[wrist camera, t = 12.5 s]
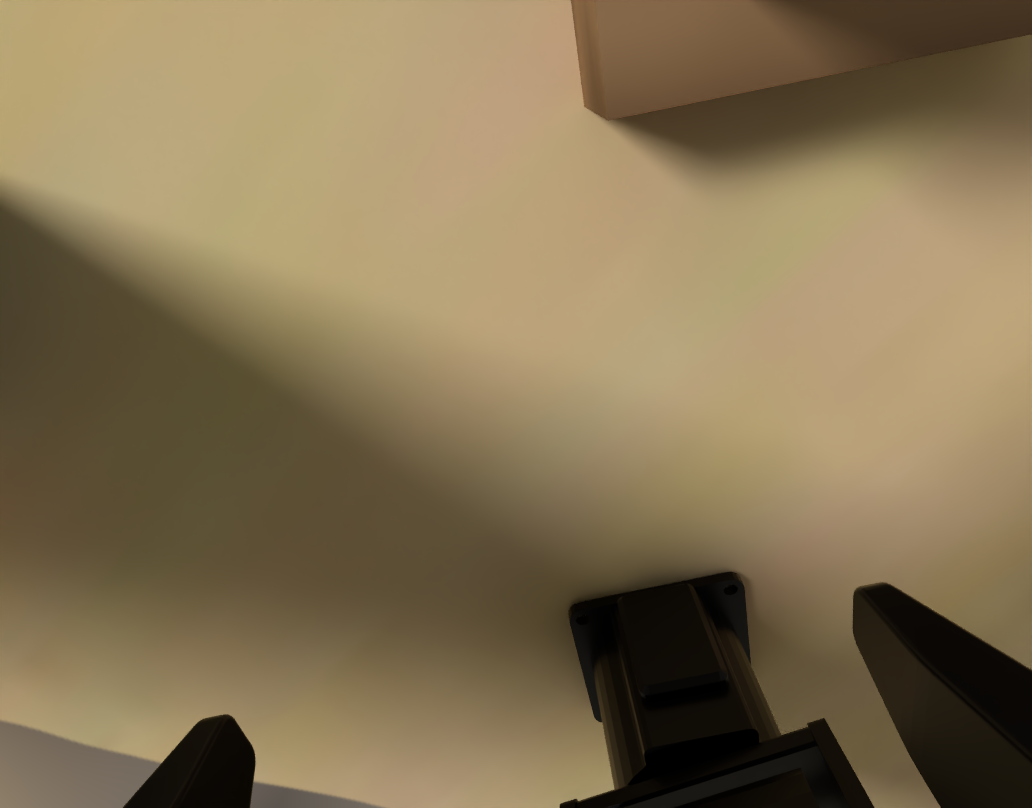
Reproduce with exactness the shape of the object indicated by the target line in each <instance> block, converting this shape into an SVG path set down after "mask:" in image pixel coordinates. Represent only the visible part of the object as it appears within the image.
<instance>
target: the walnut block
mask: <svg viewBox="0 0 1032 808" xmlns="http://www.w3.org/2000/svg"><path fill="white" fill-rule="evenodd" d="M571 4H572V12H573V20H574V28H575V36H576V44H577V52H578V60H579V68H580V76H581V84H582V92H583V100H584V107H586V108H588V109H590V110H591V111H593V112H595V113H596V114H598V115H600V116H601V117H603V118H605V119H606V120H613V119H618V118H623V117H628V116H633V115H638V114H643V113H648V112H652V111H657V110H662V109H667V108H672V107H677V106H682V105H687V104H692V103H697V102H701V101H706V100H711V99H716V98H721V97H726V96H731V95H736V94H741V93H745V92H750V91H755V90H760V89H765V88H770V87H775V86H780V85H785V84H790V83H794V82H799V81H804V80H809V79H814V78H819V77H824V76H829V75H834V74H839V73H843V72H848V71H853V70H858V69H863V68H868V67H873V66H878V65H883V64H888V63H892V62H897V61H902V60H907V59H912V58H917V57H922V56H927V55H932V54H937V53H941V52H946V51H951V50H956V49H961V48H966V47H971V46H976V45H981V44H986V43H990V42H995V41H1000V40H1005V39H1010V38H1015V37H1020V36H1025V35H1030V34H1032V0H571Z"/></svg>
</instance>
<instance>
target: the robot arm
mask: <svg viewBox="0 0 1032 808" xmlns="http://www.w3.org/2000/svg"><path fill="white" fill-rule="evenodd" d="M729 585H732V586H730V587H726V586H729ZM568 615H569V621H570V626H571V629H572V633H573V637H574V641H575V645H576V649H577V652H578V656H579V660H580V664H581V668H582V672H583V675H584V679H585V683H586V687H587V691H588V695H589V698H590V702H591V706H592V710H593V714H594V717H595V719H596V720H597V721H599V722H602V723H603V729H604V734H605V739H606V745H607V750H608V756H609V761H610V767H611V772H612V777H613V783H614V788H615V789H614V790H611V791H608V792H605V793H602V794H599V795H596V796H593V797H590V798H587V799H584V800H581V801H578V800H577V799H573V800H570V801H567V802H564V803H561V804H560V808H874V806H873V804H872V802H871V801H870V799H869V797H868V795H867V794H866V792H865V790H864V788H863V786H862V785H861V783H860V781H859V779H858V777H857V776H856V774H855V772H854V770H853V769H852V767H851V765H850V763H849V761H848V760H847V758H846V756H845V754H844V753H843V751H842V749H841V747H840V745H839V744H838V742H837V740H836V738H835V736H834V735H833V733H832V731H831V729H830V728H829V726H828V724H827V722H826V720H825V719H824V718H823V719H820V720H816V721H813V722H810V723H807V725H808V727H806V728H803V729H800V730H796V731H793V732H790V733H787V734H784V735H781V733H780V731H779V728H778V726H777V724H776V722H775V719H774V717H773V715H772V713H771V710H770V708H769V706H768V703H767V701H766V699H765V697H764V694H763V692H762V690H761V688H760V685H759V683H758V681H757V678H756V676H755V674H754V672H753V669H752V667H751V661H750V649H749V637H748V626H747V614H746V602H745V590H744V585H743V583H742V581H741V579H740V577H739V575H737V574H736V573H733V572H726V573H721V574H716V575H711V576H706V577H701V578H696V579H691V580H686V581H682V582H677V583H672V584H667V585H662V586H657V587H652V588H647V589H642V590H637V591H633V592H628V593H623V594H618V595H613V596H608V597H603V598H598V599H593V600H589V601H584V602H579V603H576V604H574V605H573V606H571V607H570V609H569V611H568ZM581 615H586V616H584V617H578V616H581ZM853 634H854V638H855V641H856V644H857V646H858V649H859V651H860V653H861V655H862V657H863V659H864V661H865V663H866V665H867V668H868V670H869V672H870V674H871V676H872V678H873V680H874V682H875V684H876V686H877V689H878V691H879V693H880V695H881V697H882V699H883V701H884V703H885V705H886V708H887V710H888V712H889V714H890V716H891V718H892V720H893V722H894V724H895V726H896V729H897V731H898V733H899V735H900V737H901V739H902V741H903V743H904V745H905V747H906V749H907V751H908V753H909V755H910V757H911V758H912V760H913V762H914V764H915V765H916V767H917V769H918V770H919V772H920V774H921V776H922V777H923V779H924V780H925V782H926V784H927V785H928V787H929V789H930V790H931V792H932V794H933V795H934V797H935V799H936V800H937V802H938V804H939V805H940V807H941V808H1032V670H1031V669H1029V668H1028V667H1026V666H1024V665H1023V664H1021V663H1019V662H1018V661H1016V660H1015V659H1013V658H1011V657H1010V656H1008V655H1006V654H1005V653H1003V652H1001V651H1000V650H998V649H996V648H995V647H993V646H991V645H990V644H988V643H986V642H985V641H983V640H982V639H980V638H978V637H977V636H975V635H973V634H972V633H970V632H968V631H967V630H965V629H963V628H962V627H960V626H958V625H957V624H955V623H953V622H952V621H950V620H949V619H947V618H945V617H944V616H942V615H940V614H939V613H937V612H935V611H934V610H932V609H930V608H929V607H927V606H925V605H924V604H922V603H921V602H919V601H917V600H916V599H914V598H912V597H911V596H909V595H907V594H906V593H904V592H902V591H901V590H899V589H897V588H896V587H894V586H892V585H891V584H888V583H884V582H881V583H875V584H870V585H865V586H860V587H858V588H856V589H855V591H854V595H853ZM254 772H255V752H254V749H253V747H252V745H251V743H250V742H249V740H248V739H247V737H246V736H245V734H244V733H243V731H242V730H241V728H240V727H239V725H238V724H237V722H236V721H235V719H234V718H233V717H232V716H230V715H228V714H224V715H219V716H214V717H209V718H205V719H202V720H201V721H199V722H198V723H197V724H196V725H195V726H194V727H193V728H192V729H191V730H190V731H189V733H188V734H187V735H186V736H185V737H184V738H183V739H182V741H181V742H180V743H179V744H178V745H177V746H176V747H175V749H174V750H173V751H172V752H171V753H170V754H169V755H168V756H167V758H166V759H165V760H164V761H163V762H162V763H161V764H160V766H159V767H158V768H157V769H156V770H155V771H154V772H153V774H152V775H151V776H150V777H149V778H148V779H147V780H146V782H145V783H144V784H143V785H142V786H141V787H140V788H139V790H138V791H137V792H136V793H135V794H134V795H133V796H132V797H131V799H130V800H129V801H128V802H127V803H126V804H125V805H124V807H123V808H250V804H251V796H252V788H253V780H254Z"/></svg>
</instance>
